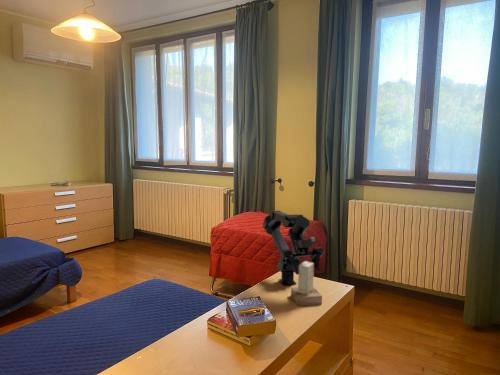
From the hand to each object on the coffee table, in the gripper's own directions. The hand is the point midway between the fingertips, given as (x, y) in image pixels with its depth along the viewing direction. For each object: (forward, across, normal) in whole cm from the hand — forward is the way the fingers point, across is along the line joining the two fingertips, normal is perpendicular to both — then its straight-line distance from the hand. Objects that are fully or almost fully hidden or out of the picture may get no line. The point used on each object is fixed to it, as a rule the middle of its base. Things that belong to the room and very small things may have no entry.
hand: (308, 273), depth 156 cm
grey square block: (+8, 0, +10) cm, 13 cm away
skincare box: (+5, 0, +7) cm, 9 cm away
